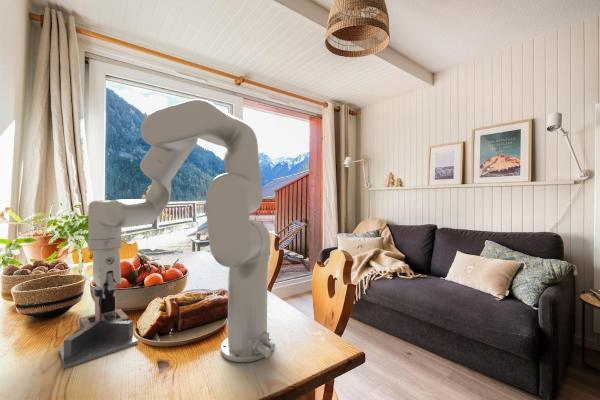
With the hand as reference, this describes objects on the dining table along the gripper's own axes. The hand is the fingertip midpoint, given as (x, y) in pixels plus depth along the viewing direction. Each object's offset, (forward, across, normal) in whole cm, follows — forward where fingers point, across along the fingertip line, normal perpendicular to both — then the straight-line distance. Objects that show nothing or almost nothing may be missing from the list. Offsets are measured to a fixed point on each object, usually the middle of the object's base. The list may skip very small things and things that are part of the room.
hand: (105, 308), depth 75 cm
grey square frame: (+6, 0, 0) cm, 6 cm away
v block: (+6, -10, +3) cm, 12 cm away
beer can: (+5, 0, 0) cm, 5 cm away
